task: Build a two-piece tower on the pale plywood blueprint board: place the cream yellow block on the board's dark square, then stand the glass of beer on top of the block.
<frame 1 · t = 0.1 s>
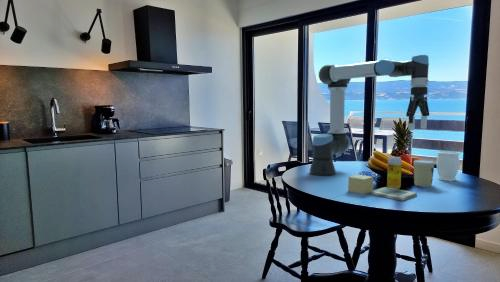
hand: (417, 129, 168), 28 cm above the table, fingers open, 13 cm apart
jar: (446, 179, 179), on the table
cream yellow block: (360, 191, 157), on the table
glass of beer: (393, 188, 163), on the table
blueprint board: (393, 194, 149), on the table
coffee cup: (422, 185, 167), on the table
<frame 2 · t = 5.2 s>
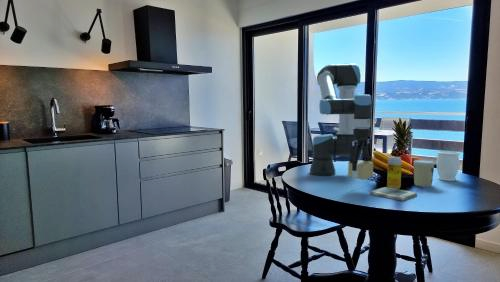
hand: (360, 175, 157), 7 cm above the table, fingers closed on cream yellow block, 8 cm apart
cream yellow block: (360, 176, 157), point 7 cm above the table, touching gripper
everything else where it was.
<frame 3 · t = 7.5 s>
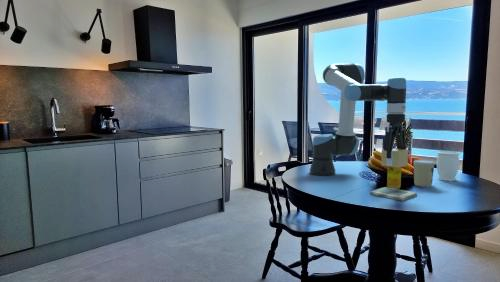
hand: (394, 164, 148), 14 cm above the table, fingers closed on cream yellow block, 8 cm apart
cream yellow block: (394, 165, 148), point 13 cm above the table, touching gripper
everything else where it was.
when the fingers open (2 cm above the table, at t = 10.0 s): cream yellow block stays where it is, resting on blueprint board.
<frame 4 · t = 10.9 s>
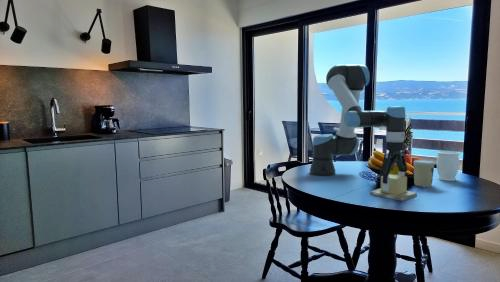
hand: (393, 188, 149), 3 cm above the table, fingers open, 13 cm apart
cream yellow block: (393, 191, 149), point 1 cm above the table, touching blueprint board
everything else where it was.
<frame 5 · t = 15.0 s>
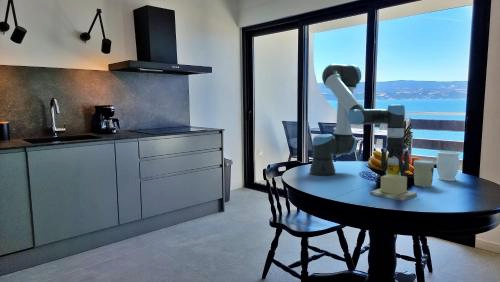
hand: (394, 183, 162), 2 cm above the table, fingers closed on glass of beer, 6 cm apart
glass of beer: (393, 187, 163), on the table, touching gripper
everything else where it was.
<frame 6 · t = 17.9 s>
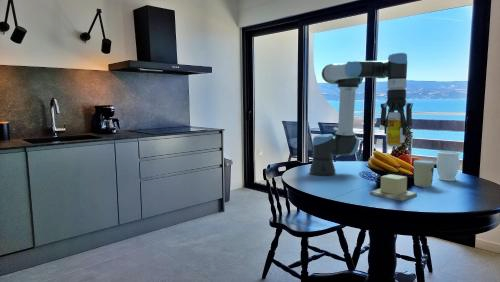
hand: (395, 141, 147), 24 cm above the table, fingers closed on glass of beer, 6 cm apart
glass of beer: (394, 146, 147), point 22 cm above the table, touching gripper
everything else where it was.
when the fingers open (11 cm above the table, at t = 21.0 s): glass of beer stays where it is, resting on cream yellow block.
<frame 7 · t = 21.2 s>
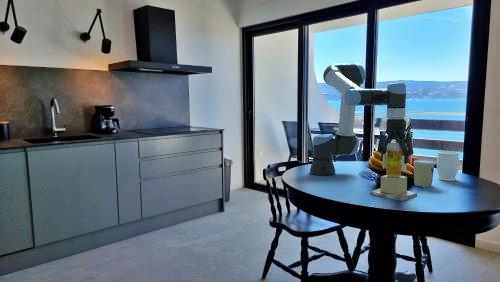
hand: (394, 169, 148), 12 cm above the table, fingers open, 8 cm apart
cream yellow block: (393, 191, 149), point 1 cm above the table, touching glass of beer, blueprint board
glass of beer: (393, 176, 149), point 8 cm above the table, touching cream yellow block
everything else where it was.
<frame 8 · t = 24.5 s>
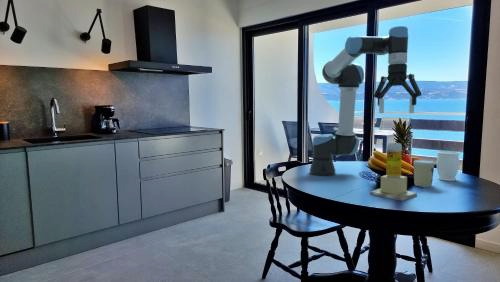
hand: (395, 113, 146), 37 cm above the table, fingers open, 13 cm apart
nothing on the table moved.
at the end: cream yellow block inside the target area on the blueprint board (0.0 cm from its centre), point 1.3 cm above the blueprint board's base; glass of beer 0.2 cm from the cream yellow block (horizontally); glass of beer point 8.1 cm above the table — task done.
